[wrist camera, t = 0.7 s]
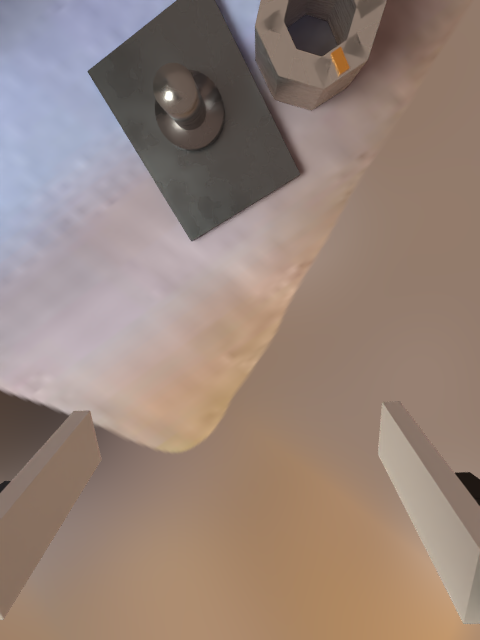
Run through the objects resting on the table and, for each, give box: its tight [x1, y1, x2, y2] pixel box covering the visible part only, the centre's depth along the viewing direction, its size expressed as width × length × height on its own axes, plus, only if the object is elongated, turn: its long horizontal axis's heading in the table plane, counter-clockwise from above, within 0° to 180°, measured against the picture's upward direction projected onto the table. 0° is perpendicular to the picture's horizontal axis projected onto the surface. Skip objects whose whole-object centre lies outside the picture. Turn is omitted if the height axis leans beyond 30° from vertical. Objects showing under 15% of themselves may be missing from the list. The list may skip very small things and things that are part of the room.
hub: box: [255, 0, 387, 111], centre depth 28 cm, size 9×9×6 cm
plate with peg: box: [88, 0, 300, 241], centre depth 29 cm, size 18×13×8 cm
